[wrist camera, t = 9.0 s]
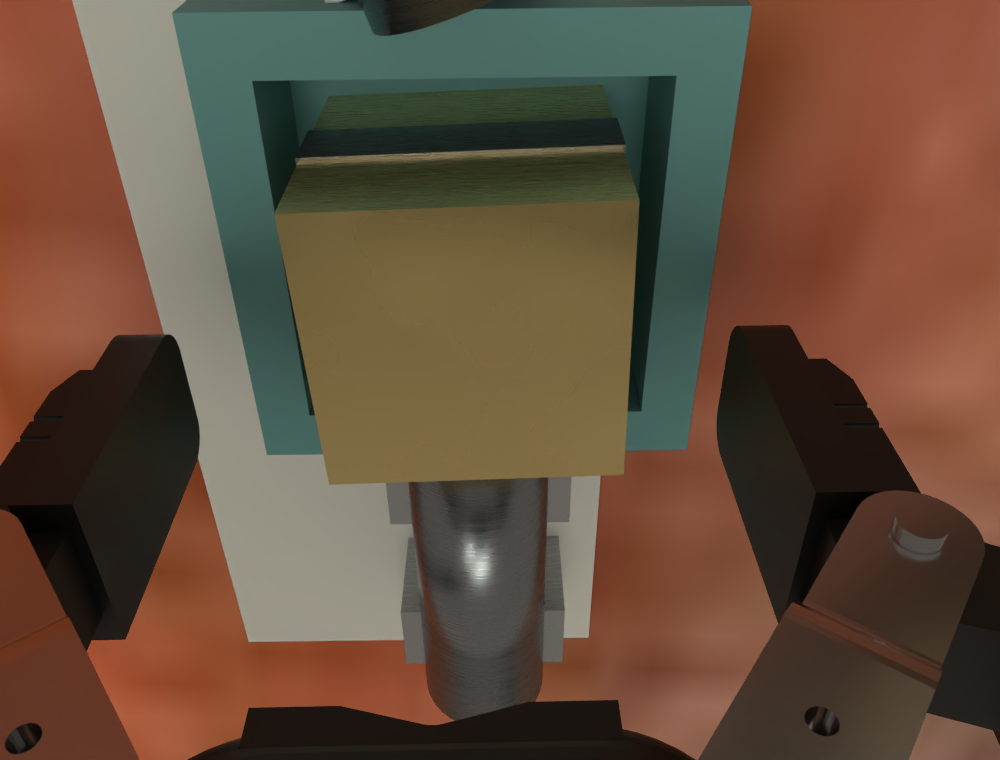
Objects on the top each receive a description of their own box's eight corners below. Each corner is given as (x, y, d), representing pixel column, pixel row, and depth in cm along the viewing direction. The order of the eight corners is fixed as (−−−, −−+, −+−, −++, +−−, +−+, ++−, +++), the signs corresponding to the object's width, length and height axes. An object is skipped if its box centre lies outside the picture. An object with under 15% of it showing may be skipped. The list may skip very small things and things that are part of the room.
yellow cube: (325, 93, 16) (270, 210, 12) (605, 82, 16) (643, 195, 12) (361, 329, 19) (326, 486, 15) (597, 320, 19) (626, 476, 15)
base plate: (254, 619, 27) (249, 641, 26) (-178, -1020, 10) (-224, -1071, 9) (586, 615, 27) (588, 637, 26) (703, -1031, 10) (718, -1083, 9)
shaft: (391, 368, 20) (372, 487, 17) (565, 366, 20) (579, 484, 17) (414, 600, 25) (403, 728, 22) (555, 598, 25) (565, 725, 22)
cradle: (293, 369, 20) (266, 455, 18) (222, -31, 15) (172, 12, 13) (663, 365, 20) (686, 449, 18) (711, -37, 15) (751, 5, 13)
